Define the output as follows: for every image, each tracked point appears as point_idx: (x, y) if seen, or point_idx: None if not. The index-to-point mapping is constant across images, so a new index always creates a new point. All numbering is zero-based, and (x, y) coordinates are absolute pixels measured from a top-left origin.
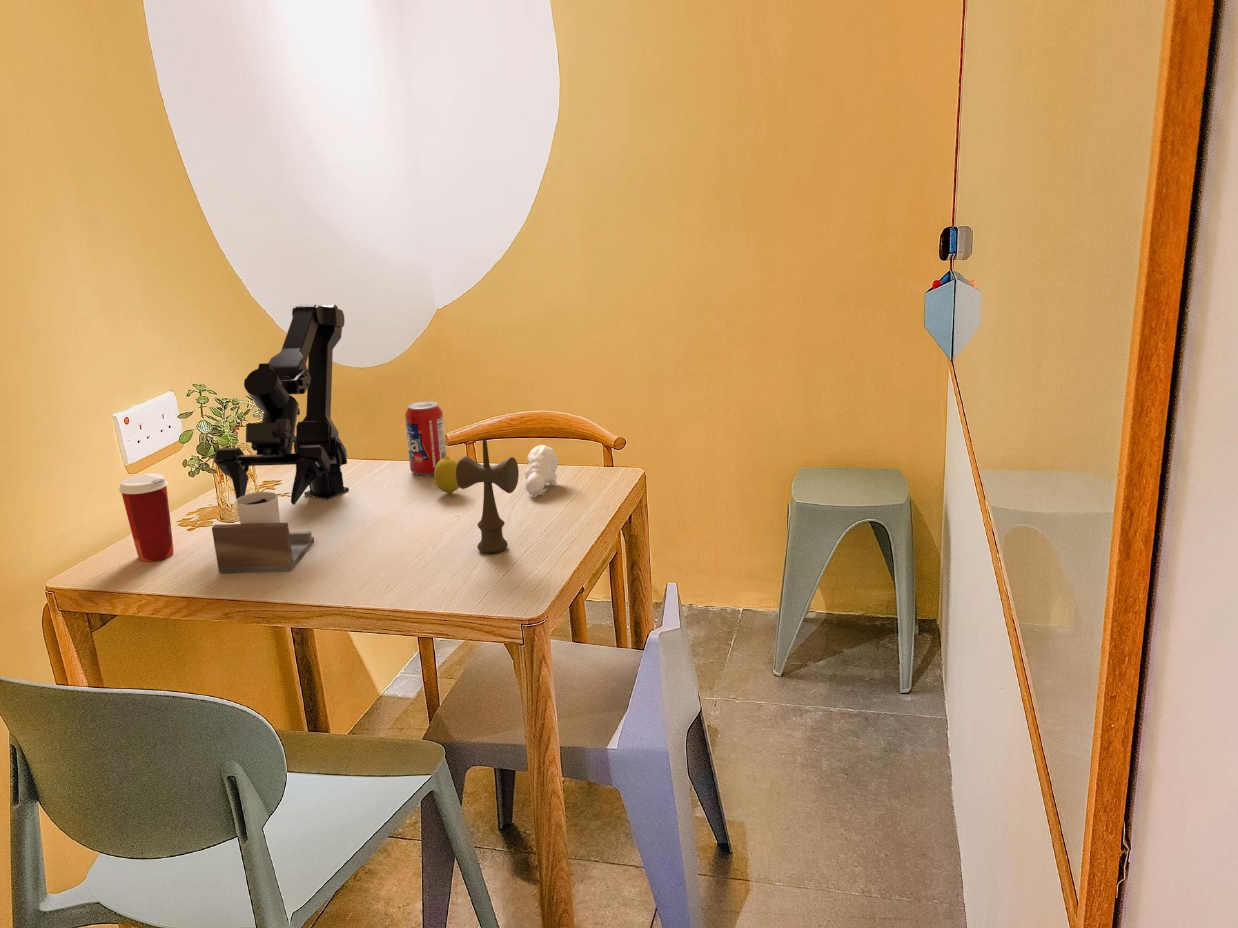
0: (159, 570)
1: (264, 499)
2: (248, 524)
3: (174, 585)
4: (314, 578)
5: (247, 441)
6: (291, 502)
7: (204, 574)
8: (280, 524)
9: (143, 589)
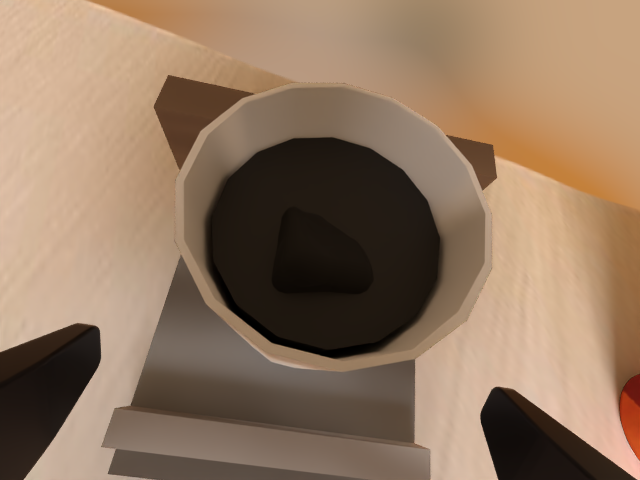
0: (580, 295)
1: (293, 251)
2: None
3: (487, 188)
4: (140, 134)
5: None
6: (96, 328)
7: None
8: (189, 93)
9: (545, 185)
